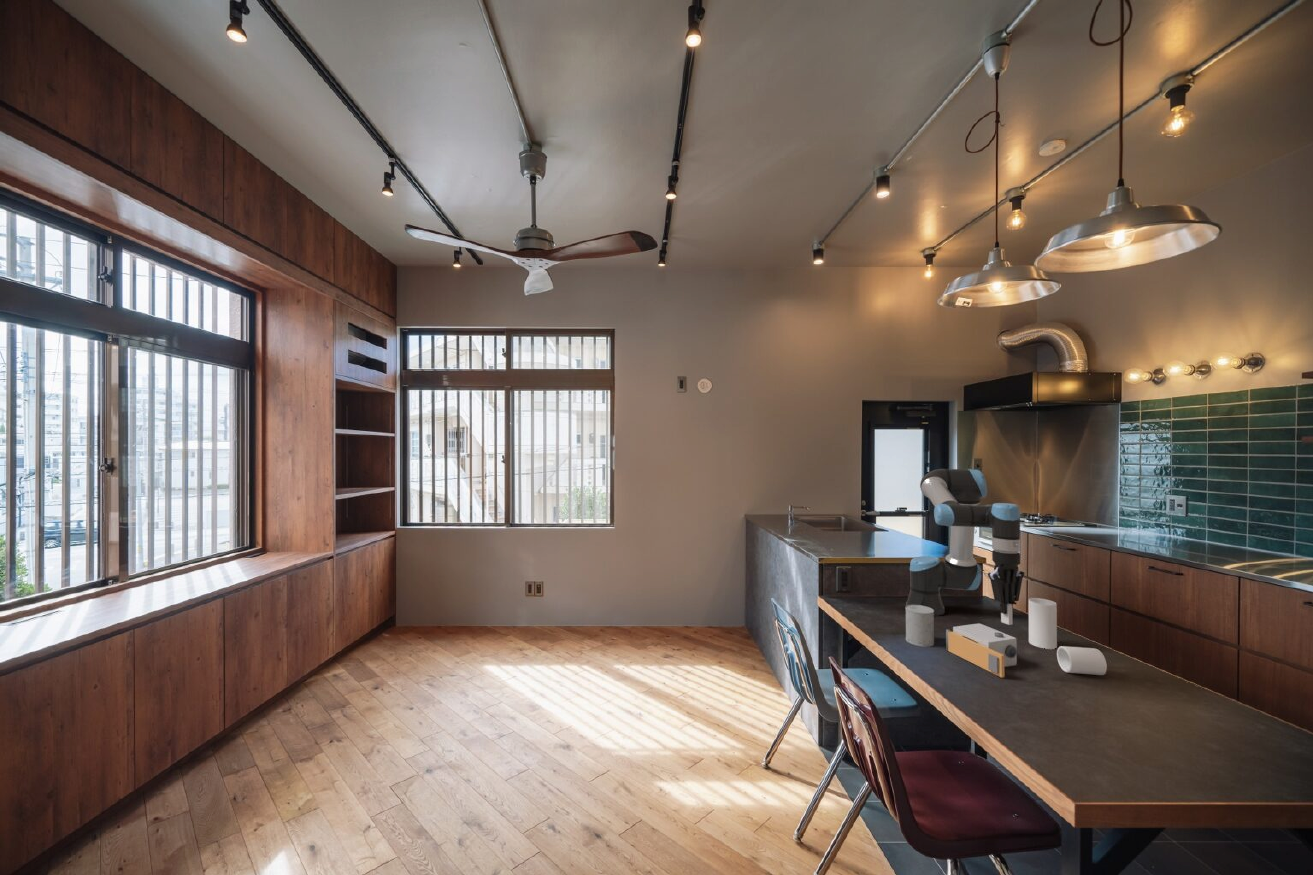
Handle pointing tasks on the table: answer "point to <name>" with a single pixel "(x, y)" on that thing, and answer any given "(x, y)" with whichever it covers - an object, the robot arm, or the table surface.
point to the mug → (1081, 660)
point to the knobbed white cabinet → (991, 640)
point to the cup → (1043, 623)
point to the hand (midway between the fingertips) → (1006, 623)
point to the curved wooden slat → (975, 653)
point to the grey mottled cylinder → (920, 625)
